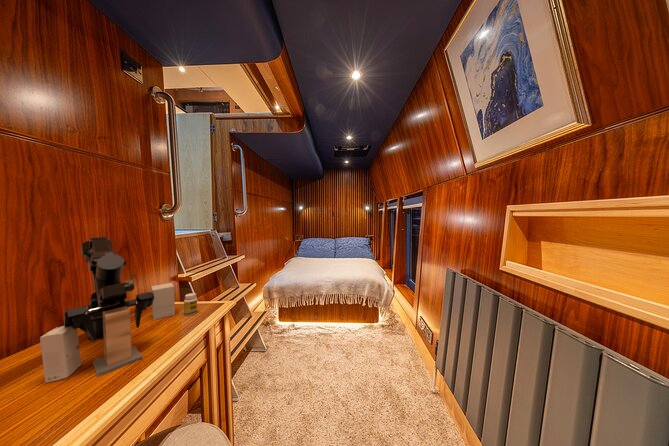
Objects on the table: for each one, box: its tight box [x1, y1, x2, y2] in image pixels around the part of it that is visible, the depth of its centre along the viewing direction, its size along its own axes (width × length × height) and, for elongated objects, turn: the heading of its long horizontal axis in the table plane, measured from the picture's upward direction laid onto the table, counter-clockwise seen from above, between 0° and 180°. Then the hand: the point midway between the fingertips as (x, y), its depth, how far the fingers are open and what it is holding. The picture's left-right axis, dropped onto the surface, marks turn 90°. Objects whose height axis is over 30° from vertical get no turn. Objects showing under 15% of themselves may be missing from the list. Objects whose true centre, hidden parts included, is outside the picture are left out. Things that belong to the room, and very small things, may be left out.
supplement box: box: [150, 282, 176, 321], centre depth 94 cm, size 7×7×13 cm
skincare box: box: [39, 325, 82, 384], centre depth 59 cm, size 6×4×12 cm
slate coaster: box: [92, 345, 143, 378], centre depth 64 cm, size 9×9×1 cm
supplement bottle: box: [183, 292, 198, 317], centre depth 95 cm, size 5×5×8 cm
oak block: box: [103, 306, 132, 366], centre depth 64 cm, size 5×5×14 cm
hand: (117, 333), depth 63 cm, fingers open, 8 cm apart
